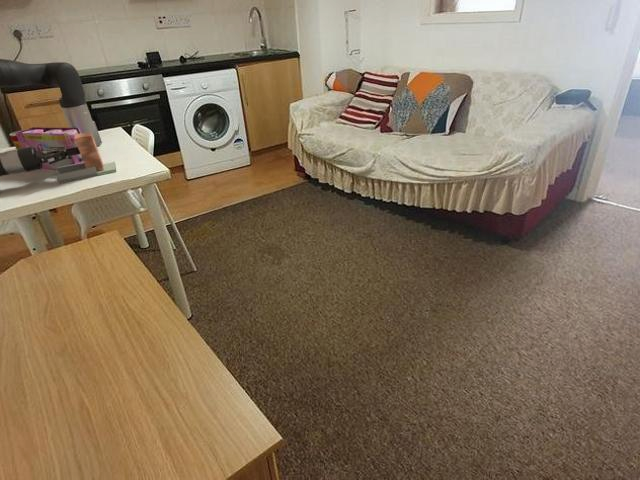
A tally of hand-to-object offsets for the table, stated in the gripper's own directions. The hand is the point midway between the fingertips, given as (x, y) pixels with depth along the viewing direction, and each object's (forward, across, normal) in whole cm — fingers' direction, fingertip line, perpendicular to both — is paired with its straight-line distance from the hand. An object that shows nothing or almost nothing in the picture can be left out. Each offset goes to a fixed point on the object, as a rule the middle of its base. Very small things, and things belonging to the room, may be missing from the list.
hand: (80, 150), depth 133 cm
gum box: (-10, +17, +9) cm, 21 cm away
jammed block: (+2, 0, +7) cm, 8 cm away
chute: (0, 0, +8) cm, 9 cm away
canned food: (-20, +28, +9) cm, 35 cm away
